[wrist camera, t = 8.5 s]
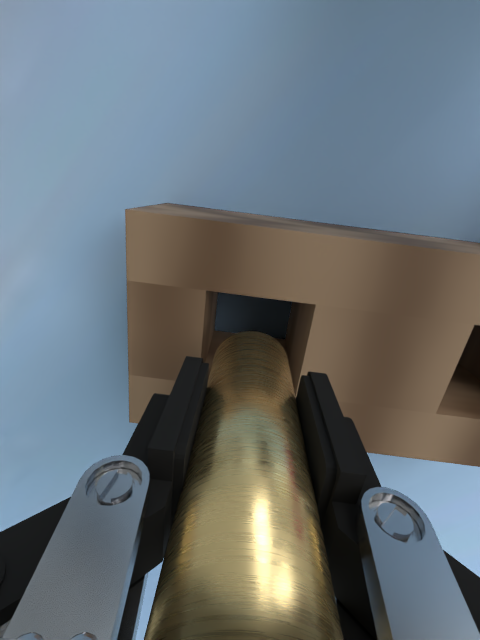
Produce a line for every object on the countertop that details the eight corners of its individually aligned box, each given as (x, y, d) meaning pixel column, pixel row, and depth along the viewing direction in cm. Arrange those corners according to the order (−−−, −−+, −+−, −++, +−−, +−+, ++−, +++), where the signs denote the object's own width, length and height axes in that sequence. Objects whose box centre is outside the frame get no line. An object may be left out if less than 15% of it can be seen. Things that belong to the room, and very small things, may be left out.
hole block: (162, 361, 21) (129, 422, 16) (167, 203, 17) (125, 209, 12) (489, 402, 21) (571, 478, 16) (565, 253, 17) (709, 283, 12)
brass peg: (216, 326, 12) (96, 751, 3) (294, 335, 12) (420, 790, 3) (210, 391, 13) (108, 848, 4) (281, 400, 13) (342, 877, 4)
